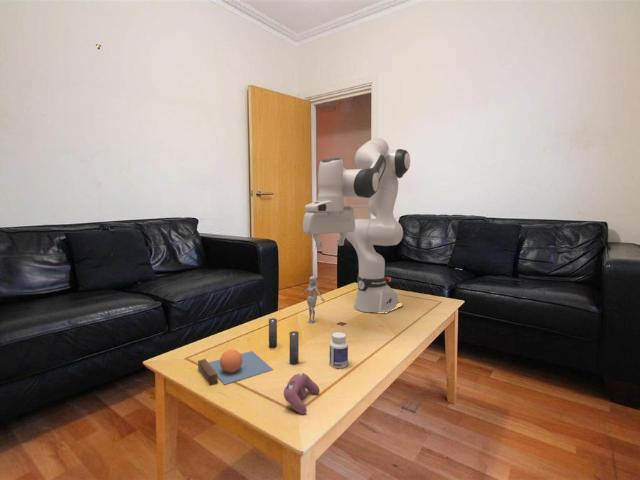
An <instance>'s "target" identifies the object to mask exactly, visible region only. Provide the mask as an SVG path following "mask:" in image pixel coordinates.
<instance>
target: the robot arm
mask: <svg viewBox="0 0 640 480" xmlns="http://www.w3.org/2000/svg"><path fill="white" fill-rule="evenodd" d="M389 148H390V147H389V144H388V142H387V141H386V140H385V139H383V138H381V137H375V138H372V139H370V140H368V141H366V142H365V143H364V144H362V145H361V146H360V147H359V148H358V149H357V150H356V152H355V155H354V163H355V165H356V167H357V169H355V168H354V169H346V168H345V167H344V162H343V159H342V158H340V157H333V158H332V157H331V158H324V159H322V160H320V162H319V167H318V171H317V172H318V174H317V185H318V194H317V200H315V201H313V202H311V203H308V204H306V205H305V206H304V211H305V213H304V215H303V221H302V222H303V223H302V230H303V233H304V234H306V235H310V236H311V235H312V238H313V241H314V242H315V248H318V249H319V248H322V247H323V242H322V241H321V240H320V237H321V235H327V234H338V233H339V236H340V237H339V239H338V240H337V246H340V247H341V246H344V244H345V240H347V241H348V242H349V243H351V245H352V246H353V248H354V249H355V251H356V254H357V258H358V275H357V281H356V282H357V283H356V284H357V291H356V297H355V302H354V305H353V308H354V309H355V310H357V311H360V312H364V313H369V312H384V313H385V312H388V311H390V310H392V309H394V308H395V307H397V306H396V305H397V304H398V301H399V299H398V293H397V292H396V291H395V290H394V289H393V288H391V286H389V285H388V283H390V282H392V278H391V277H390V276H385V271H386V270H385V268H386V267H385V266H386V265H385V264H386V261H385V257H383V255H381V254H380V253H378V252H376V250H375V247H374V246H381V247H382V246H383V247H389V246H397V245H398V244H399V243H400V242H401V241H402V240H403V236H404V230H403V229H404V228H403V226H402V225H401V223H400V222H399V221H397V219H396V218H395V215H394V208H395V204H396V200H397V197H398V194H399V193H398V192H399V179H401V178H403V177H404V175H405V174H407V172H408V171H409V168H410V167H411V156H410V153H409V152H408V150H406V149H404V148H401V149H400V148H398V149H389ZM345 197H347V198H363V199H365V198H366V199H369V201H368V207H367V208H368V210H369V212H370V214H371V215H373V216H374V217H375V218H355V211H354V208H353V207H352V206H350V205H347V206H345V204H344V203H345V202H344V201H345V200H344V198H345Z"/></svg>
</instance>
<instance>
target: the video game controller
mask: <svg viewBox="0 0 640 480" xmlns="http://www.w3.org/2000/svg"><path fill="white" fill-rule="evenodd" d="M306 390H307V391H308V392H310V393H312V394H314V395H319V393H320V392H321V390H320V387H319V386H318V384H317V383H315V381H313V380H312V379H311V378H310V377H309V375H308V374H306V373H305V372H303V373H301V372H300V373H297V374H294V375H293V376H292V377H290V378H289V381H288V382H287V384H286V386H285V387H284V389H283V397H284V400H285V401H286V402H287V403H288V404H289V405H290V406H291V408H292V409H294V410H295V411H296V412H297V413H299V414H301V415H305V414H306V413H307V411H308V410H307V407H306V404H304V402H303V401H302V398H305V397H306V396H307V391H306Z"/></svg>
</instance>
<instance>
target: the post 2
mask: <svg viewBox="0 0 640 480" xmlns="http://www.w3.org/2000/svg"><path fill="white" fill-rule="evenodd" d="M299 333H300V332H298V331H297V330H296V331H290V332H289V364H290V365H292V366H294V365H295V366H296V365H298V364H299V360H300V359H299V356H300V355H299V353H300V352H299V350H300V349H299V344H300V343H299V341H300V335H299Z"/></svg>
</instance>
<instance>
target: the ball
mask: <svg viewBox="0 0 640 480" xmlns="http://www.w3.org/2000/svg"><path fill="white" fill-rule="evenodd" d="M241 354H242V353H240V352H239V351H238V350H236V349H232V348H231V349H227V350H226V351H224V352H223V353H222V354H221V356H220V358H219V360H220V366H221V368H222V369H223V370H224V371H226V372H229V373H232V372H235V371H237V370H238V369H239V368H240V367H241V365H242V356H241Z"/></svg>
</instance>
